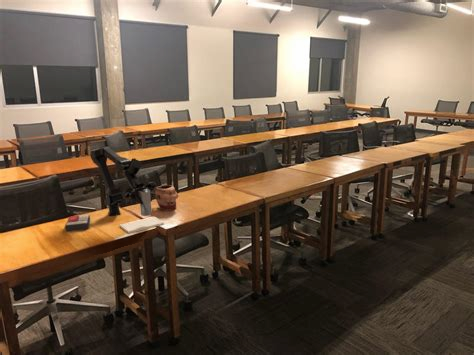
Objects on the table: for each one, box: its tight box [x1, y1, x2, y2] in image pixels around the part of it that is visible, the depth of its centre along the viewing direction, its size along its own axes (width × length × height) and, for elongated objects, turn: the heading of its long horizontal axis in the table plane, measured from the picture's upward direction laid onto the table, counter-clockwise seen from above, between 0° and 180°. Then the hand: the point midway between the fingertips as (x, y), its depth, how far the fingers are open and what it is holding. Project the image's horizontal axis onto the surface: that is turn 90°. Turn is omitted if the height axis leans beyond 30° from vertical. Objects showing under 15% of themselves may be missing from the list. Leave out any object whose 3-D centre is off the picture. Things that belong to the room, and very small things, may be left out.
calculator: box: [65, 214, 91, 233], centre depth 206 cm, size 11×4×15 cm
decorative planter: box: [154, 184, 179, 211], centre depth 231 cm, size 20×12×14 cm, turn 51°
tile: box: [119, 216, 165, 234], centre depth 205 cm, size 20×12×1 cm, turn 128°
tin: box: [138, 189, 153, 217], centre depth 201 cm, size 6×6×13 cm
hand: (147, 202), depth 200 cm, fingers closed on tin, 5 cm apart
